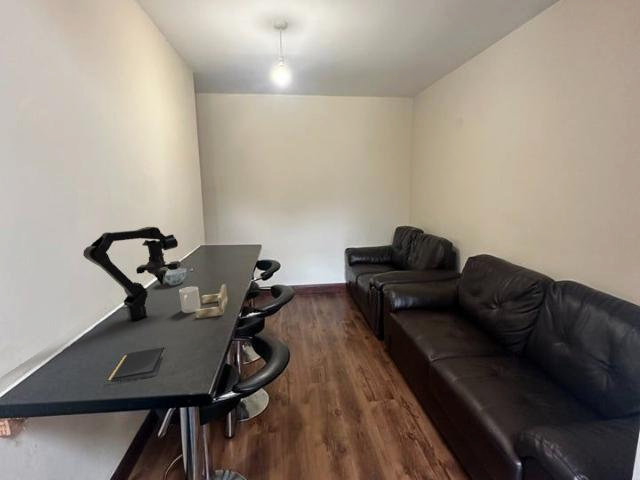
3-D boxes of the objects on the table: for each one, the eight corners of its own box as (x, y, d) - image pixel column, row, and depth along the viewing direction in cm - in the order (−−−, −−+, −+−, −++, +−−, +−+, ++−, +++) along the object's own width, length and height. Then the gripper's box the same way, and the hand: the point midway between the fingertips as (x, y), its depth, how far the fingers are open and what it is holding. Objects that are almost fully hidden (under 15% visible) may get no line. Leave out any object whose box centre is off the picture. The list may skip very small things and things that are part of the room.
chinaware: (163, 282, 212) (161, 270, 211) (188, 278, 216) (187, 267, 215) (159, 289, 198) (157, 276, 197) (187, 284, 202) (185, 272, 201)
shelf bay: (196, 318, 148) (193, 301, 147) (203, 302, 168) (201, 286, 167) (223, 314, 150) (221, 297, 149) (227, 299, 170) (225, 284, 169)
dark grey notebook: (154, 373, 103) (99, 382, 100) (155, 379, 103) (101, 388, 101) (169, 343, 122) (124, 350, 120) (170, 348, 123) (124, 355, 120)
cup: (202, 305, 164) (199, 285, 162) (195, 315, 152) (192, 293, 150) (185, 307, 163) (182, 287, 161) (176, 317, 151) (173, 295, 150)
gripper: (127, 259, 151) (134, 292, 155) (169, 255, 152) (176, 287, 156) (138, 253, 162) (145, 284, 165) (178, 249, 163) (183, 279, 166)
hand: (162, 284), depth 163 cm, fingers closed
